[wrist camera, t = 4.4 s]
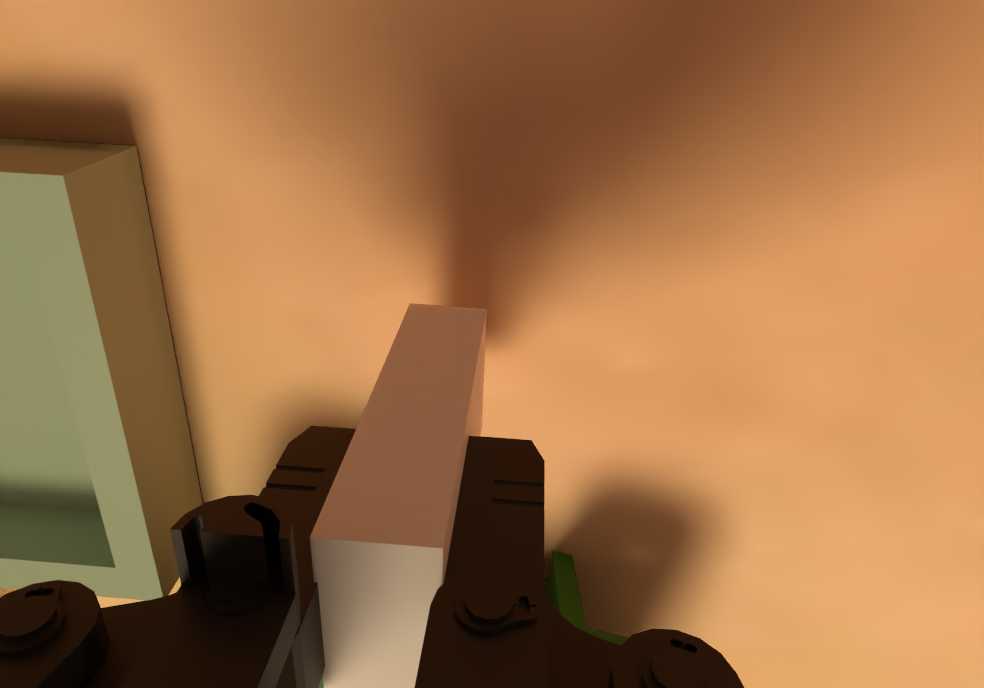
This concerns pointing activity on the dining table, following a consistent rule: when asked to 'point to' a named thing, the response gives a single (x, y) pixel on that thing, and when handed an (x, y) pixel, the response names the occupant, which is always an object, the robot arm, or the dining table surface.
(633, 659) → the robot arm
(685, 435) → the dining table surface
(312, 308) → the dining table surface
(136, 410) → the tray
